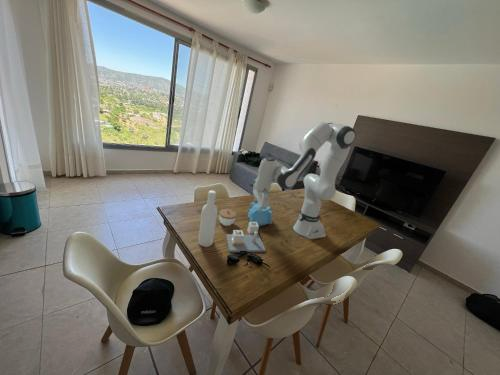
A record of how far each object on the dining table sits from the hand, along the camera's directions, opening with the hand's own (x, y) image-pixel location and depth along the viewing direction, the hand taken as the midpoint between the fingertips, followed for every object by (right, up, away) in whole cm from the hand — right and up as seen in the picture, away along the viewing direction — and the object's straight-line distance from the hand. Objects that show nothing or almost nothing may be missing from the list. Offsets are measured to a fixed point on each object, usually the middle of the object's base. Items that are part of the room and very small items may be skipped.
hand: (257, 207), depth 121 cm
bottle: (-28, -18, -11) cm, 35 cm away
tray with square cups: (-7, -20, -5) cm, 22 cm away
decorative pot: (+1, -12, +20) cm, 24 cm away
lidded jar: (-20, -12, +10) cm, 25 cm away
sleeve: (-3, -16, +6) cm, 18 cm away
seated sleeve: (-12, -19, -7) cm, 23 cm away
